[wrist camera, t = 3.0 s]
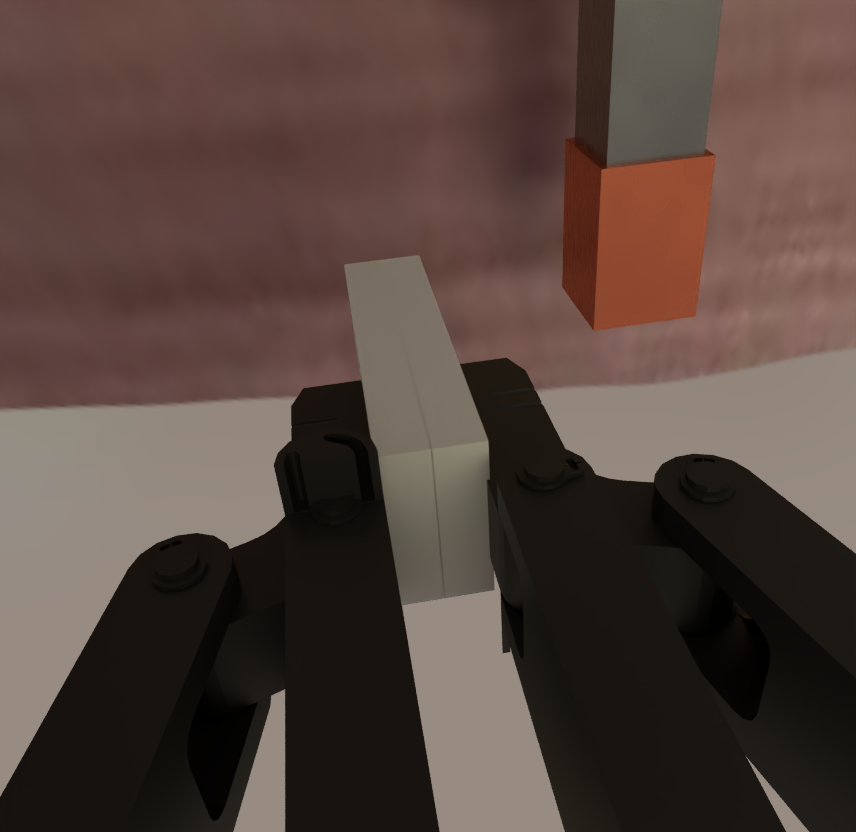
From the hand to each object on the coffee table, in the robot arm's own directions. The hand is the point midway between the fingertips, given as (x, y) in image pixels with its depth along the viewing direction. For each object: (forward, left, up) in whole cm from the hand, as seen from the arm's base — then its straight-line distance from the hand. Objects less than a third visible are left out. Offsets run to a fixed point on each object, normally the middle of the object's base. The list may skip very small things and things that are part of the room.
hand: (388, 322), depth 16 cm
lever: (+7, +4, -7) cm, 11 cm away
